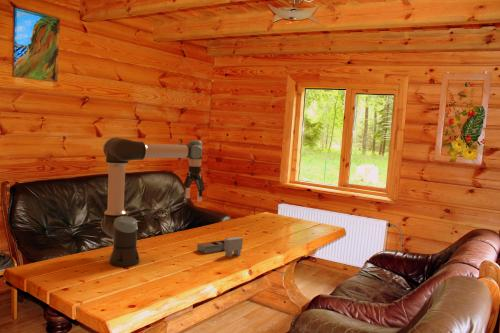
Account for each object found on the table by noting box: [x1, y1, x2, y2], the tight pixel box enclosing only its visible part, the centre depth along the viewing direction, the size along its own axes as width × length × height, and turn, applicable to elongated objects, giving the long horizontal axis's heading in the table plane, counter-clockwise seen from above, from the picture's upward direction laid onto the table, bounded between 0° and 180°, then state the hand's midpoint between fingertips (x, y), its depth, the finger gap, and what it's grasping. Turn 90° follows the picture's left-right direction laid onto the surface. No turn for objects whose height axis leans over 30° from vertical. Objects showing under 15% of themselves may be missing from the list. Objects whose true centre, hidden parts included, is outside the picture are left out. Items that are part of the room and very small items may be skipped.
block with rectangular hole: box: [196, 239, 226, 255], centre depth 261 cm, size 26×8×4 cm, turn 130°
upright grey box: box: [224, 236, 244, 258], centre depth 250 cm, size 10×4×10 cm, turn 130°
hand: (193, 200), depth 267 cm, fingers open, 13 cm apart
